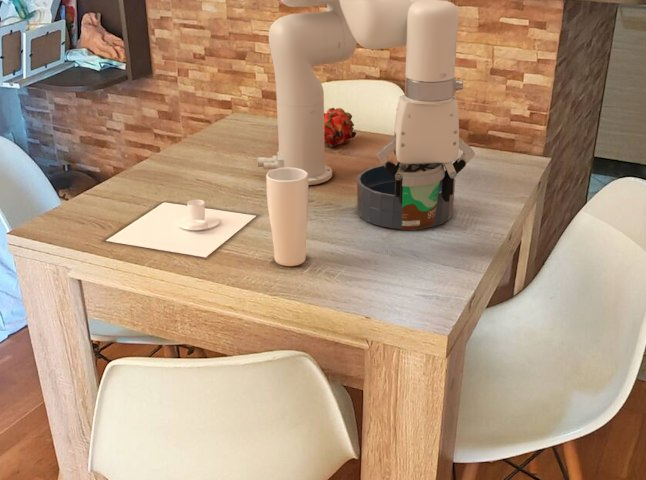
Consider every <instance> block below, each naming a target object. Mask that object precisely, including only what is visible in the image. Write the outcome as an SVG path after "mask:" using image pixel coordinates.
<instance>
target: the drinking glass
mask: <svg viewBox="0 0 646 480" xmlns="http://www.w3.org/2000/svg"><path fill="white" fill-rule="evenodd" d="M265 185H266V186H265V190H266V192H265V193H266V194H265V195H266V203H267V210H268V211H267V212H268V217H269V224H270V231H271V240H272V245H273V247H272V248H273V258H274V262H275V263H277V264H278V265H280V266H283V267H296V266H299V265H302V264H303V263H304V262H305V261H306V259H307V234H308V233H307V232H308V219H309V218H308V217H309V202H310V201H309V199H310V192H309V191H310V190H309V189H310V185H308V174H307V172H306V171H304V170H302V169H298V168H278V169H274V170H273V169H270V170H269V171H268V172H266V174H265Z"/></svg>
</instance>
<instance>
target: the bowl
mask: <svg viewBox="0 0 646 480" xmlns="http://www.w3.org/2000/svg"><path fill="white" fill-rule="evenodd" d="M394 164H395V165H396V163H394ZM406 171H407V170H406ZM445 171H446V170H444V172H445ZM394 191H395V177H394V176H393V175H392V174H391V173H390V172H389V171H388V170H387V169H386V167H385V166H384V165H383V164H380V165H377V166H373V167H372V166H371V167H369V168H367V169H365V170H363V171H362V172H360V173H359V174H358V175H357V178H356V212H357V214H358V216H359V217H360V218H361V219H362V220H364V221H366V222H368V223H370V224H373V225H376V226H379V227H384V228H388V229H394V230H395V229H396V230H402V203H401V204H400V202H399V199H398V197H395V192H394ZM455 191H456V179H455V178H454V184H453V195H450V196H449V202H445V201H444V199H443V197H442V180H440V186H439V193H438V201H437V208H436V216H435V222H434V223H433V224H432V225H431V226H429V227H428V228H432V227H435V226H439V225H442V224H444V223H445V222H447V221H449V220H450V218H451V217H452V216H453V213H454V205H455V204H454V203H455Z"/></svg>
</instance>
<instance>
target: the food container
mask: <svg viewBox="0 0 646 480" xmlns="http://www.w3.org/2000/svg"><path fill="white" fill-rule="evenodd" d="M444 171H445V166H444V164H443V163H435V164H409V166H408V168H407V171H406V172H403V181H402V186H403V195H402V229H401V231H416V230H417V231H418V230H423V229H426V228H430V227H429V226H431V225H432V224H433V223H434V222H435V216H436V208H437V201H438V193H439V186H440V180H442V179H443V178H444V176H445V172H444Z"/></svg>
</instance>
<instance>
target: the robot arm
mask: <svg viewBox="0 0 646 480" xmlns="http://www.w3.org/2000/svg"><path fill="white" fill-rule="evenodd" d="M279 1H280V2H281V3H282V4H283V5H285V6H287V7H291V8H305V7H317V6H326V11H323V10H322V11H314V12H313V11H312V12H301V13H292V14H287V15H283V16H281V17H278V18H277V19H276V20H275V21H273V22H272V24H271V25H270V26H269V30H268V46H269V51H270V55H271V60H272V65H273V72H274V80H275V95H276V96H275V97H276V116H277V117H276V119H277V138H278V139H277V142H278V151H277V152H276V155H272V157H265V156H264V157H263V156H261V157H259V156H258V157H257V167H258V168H259V167H260V168H262V167H263V170H274V169H278V168H298V169H302V170H304V171H306V172H307V174H308V186H313V185H320V184H323V183H326V182H328V181H329V180H330V179H331V178H332V177H333V169H332V168H331V167H330V166H329V165H327V164H326V159H325V155H326V154H325V152H326V151H325V148H326V147H325V140H324V113H325V95H324V93H325V92H324V88H323V85H322V82H321V81H320V79H319V78H318V76H317V75H316V74H315V72H314V71H313V67H316V66H320V65H322V66H323V65H327V64H328V65H329V64H338V63H342V62H346V61H348V60H350V59H351V58H352V57H353V55H354V54H355V51H356V49H357V43H358V45H360V46H361V47H362V48H364V49H367V50H371V51H373V50H374V51H375V50H382V49H383V50H384V49H392V48H399V47H405V48H406V49H405V73H404V94H402V95H400V96H399V97H398V102H397V106H396V112H395V118H394V126H393V127H394V128H393V129H394V130H393V137H392V138H391V139H390V140H389V141H388V142H387V143H386V144H384V145H383V146H382V147H381V148H380V149H379V150H378V151H377V152H376V154H375V156H376V158H377V160H378V161H379V162H380V163H381V165H384V166H385V167H386V169H387V170H388V171H389V172H390V173H391V174H392V175H393V176H394V177H395V191H394V192H395V197H398V199H399V202H400V204H401V203H402V195H403V186H402V181H403V172H406V170H407V168H408V166H409V164H435V163H443V165H444V171H445V176H444V178H443V179H442V197H443V199H444V201H445V202H449V196H450V195H453V184H454V179H455V178H457V175H458V174H459V173H460V172H461V171H463V169H464V168H465V167H466V165H467V164H468V163H469V162H470V161H471V160H472V159H473V158H474V157H475V155H476V152H475V150H474V149H473V148H472V147H471V146H470V145H469V144H468V143H466V142H465V140H463V139H462V138H461V137H460V117H459V115H460V114H459V105H458V98H457V96H456V95H455V93H456V92H457V91H459V90H464V80H459V79H456V78H455V75H456V74H455V73H456V62H457V61H456V59H457V47H458V45H457V44H458V32H459V31H458V29H459V9H458V6H457V5H456V4H455V3H453V2H451V1H447V0H279ZM459 150H460V151H461V152H462V154H461V155H460V157H458V156H459ZM391 153H393V155H394V156H396V160H397V162H396V163H395V162H393V161H392V160H391V159H390V158H389V155H390V154H391ZM395 164H396V165H395Z"/></svg>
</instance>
